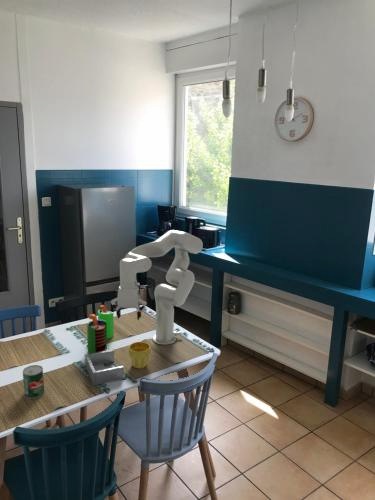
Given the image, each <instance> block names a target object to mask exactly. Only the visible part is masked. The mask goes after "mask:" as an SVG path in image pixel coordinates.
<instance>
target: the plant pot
mask: <svg viewBox="0 0 375 500" xmlns="http://www.w3.org/2000/svg"><path fill="white" fill-rule="evenodd" d="M151 349H152V347H151V345H150V344H149V343H148V342H145V341H135V342H132V343H131V344H129V346H128V355H129V356H130V359H131V363H132V367H133V368H136V369H144V368H145V367H146V366H147V363H148V360H149V357H150V355H151Z"/></svg>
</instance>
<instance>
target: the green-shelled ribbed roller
mask: <svg viewBox="0 0 375 500" xmlns="http://www.w3.org/2000/svg"><path fill="white" fill-rule="evenodd" d="M97 320H105V321H107V339H111V338H113V337H114V333H115V331H114V329H115V328H114V325H115V324H114V312H112V311H110V310H107V307H106V306H105V305H104V304H102V305H100V306H99V309H98V310H97Z"/></svg>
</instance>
